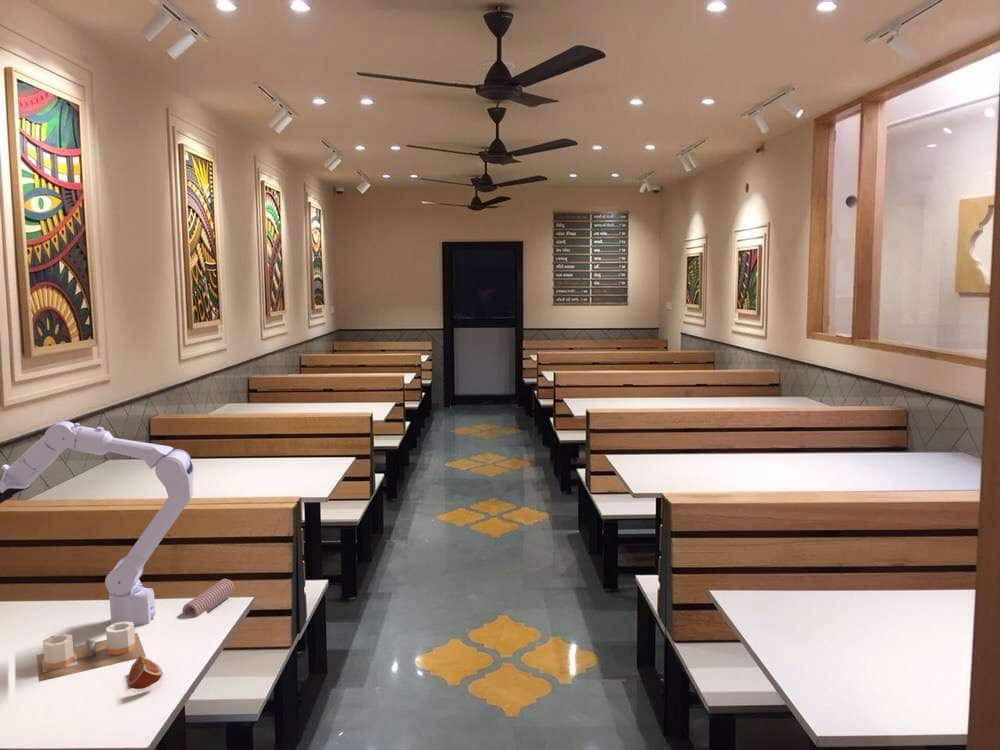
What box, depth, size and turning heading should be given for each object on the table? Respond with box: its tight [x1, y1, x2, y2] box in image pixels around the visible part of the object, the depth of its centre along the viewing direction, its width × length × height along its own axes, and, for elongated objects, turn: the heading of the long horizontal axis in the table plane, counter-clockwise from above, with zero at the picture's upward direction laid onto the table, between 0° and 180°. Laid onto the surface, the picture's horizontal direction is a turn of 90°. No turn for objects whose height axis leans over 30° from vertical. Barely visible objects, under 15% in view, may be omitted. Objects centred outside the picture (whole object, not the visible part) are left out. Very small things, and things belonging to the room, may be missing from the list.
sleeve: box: [42, 633, 74, 669], centre depth 172 cm, size 5×5×5 cm
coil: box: [181, 578, 235, 617], centre depth 204 cm, size 5×5×18 cm
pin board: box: [36, 632, 147, 682], centre depth 175 cm, size 20×14×5 cm
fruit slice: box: [126, 655, 164, 690], centre depth 165 cm, size 8×7×5 cm
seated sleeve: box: [105, 621, 136, 655], centre depth 178 cm, size 5×5×5 cm
